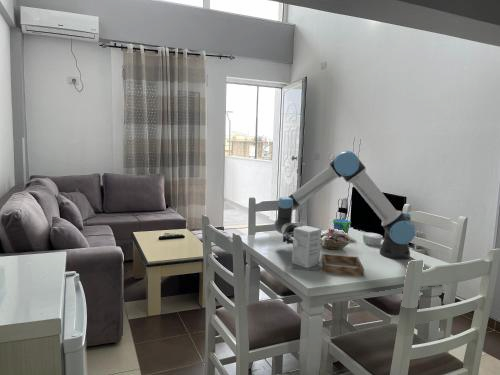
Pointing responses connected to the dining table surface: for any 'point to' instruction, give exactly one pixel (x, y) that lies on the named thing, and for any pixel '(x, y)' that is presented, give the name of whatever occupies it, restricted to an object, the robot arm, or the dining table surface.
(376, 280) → the dining table surface
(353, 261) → the walnut crate
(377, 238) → the ramekin
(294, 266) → the grey pad
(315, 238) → the supplement box
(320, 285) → the dining table surface
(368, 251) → the dining table surface
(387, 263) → the dining table surface
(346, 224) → the snack cup
